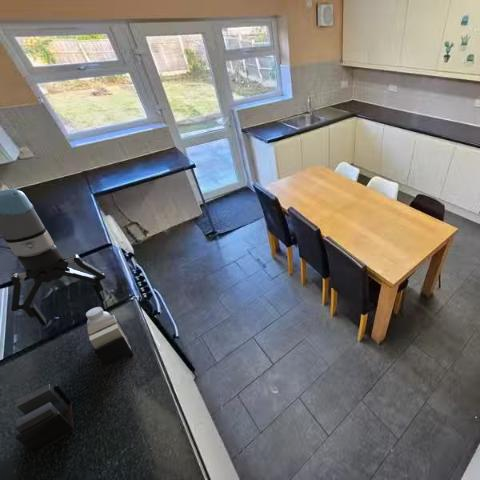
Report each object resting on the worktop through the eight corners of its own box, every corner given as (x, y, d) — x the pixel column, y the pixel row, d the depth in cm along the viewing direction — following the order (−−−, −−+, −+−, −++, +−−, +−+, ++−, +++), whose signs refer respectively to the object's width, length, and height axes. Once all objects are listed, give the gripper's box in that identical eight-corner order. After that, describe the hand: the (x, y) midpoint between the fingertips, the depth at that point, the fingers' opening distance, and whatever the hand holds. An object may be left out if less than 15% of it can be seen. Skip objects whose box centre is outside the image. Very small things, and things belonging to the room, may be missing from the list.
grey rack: (36, 421, 76) (13, 399, 70) (72, 401, 80) (53, 379, 75) (36, 455, 68) (9, 433, 63) (75, 431, 73) (54, 409, 68)
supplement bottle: (118, 326, 105) (104, 302, 99) (121, 337, 101) (106, 312, 94) (98, 335, 102) (81, 310, 95) (99, 347, 97) (82, 321, 91)
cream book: (103, 358, 92) (88, 336, 86) (129, 345, 96) (116, 323, 91) (104, 363, 90) (89, 340, 85) (130, 349, 94) (118, 327, 89)
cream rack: (101, 348, 96) (85, 325, 91) (126, 336, 101) (113, 312, 95) (106, 368, 89) (89, 344, 83) (133, 354, 94) (119, 330, 88)
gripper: (-40, 277, 60) (16, 341, 70) (97, 238, 75) (125, 296, 85) (-34, 263, 65) (17, 325, 75) (93, 229, 79) (120, 285, 90)
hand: (74, 310), depth 80 cm, fingers open, 13 cm apart
